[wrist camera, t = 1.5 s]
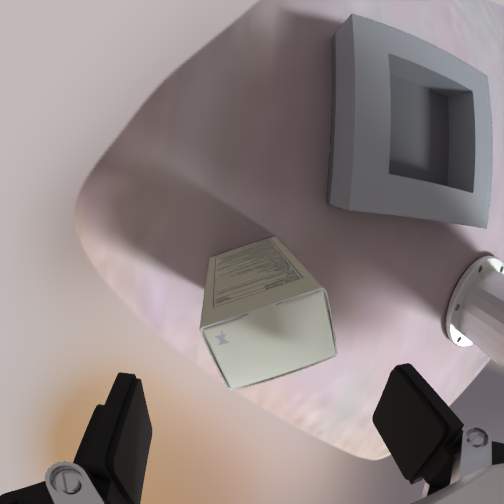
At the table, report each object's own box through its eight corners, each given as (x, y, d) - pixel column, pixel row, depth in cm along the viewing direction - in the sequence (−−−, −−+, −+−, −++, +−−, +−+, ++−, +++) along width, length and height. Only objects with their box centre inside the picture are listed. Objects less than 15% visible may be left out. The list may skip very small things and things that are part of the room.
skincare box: (224, 301, 26) (223, 395, 14) (207, 256, 24) (190, 329, 13) (293, 279, 26) (341, 359, 14) (280, 233, 24) (327, 287, 13)
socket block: (458, 83, 21) (487, 75, 17) (455, 219, 25) (486, 228, 21) (331, 37, 20) (351, 13, 15) (325, 203, 24) (348, 210, 19)
